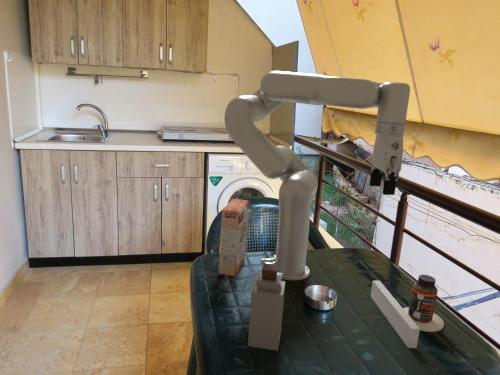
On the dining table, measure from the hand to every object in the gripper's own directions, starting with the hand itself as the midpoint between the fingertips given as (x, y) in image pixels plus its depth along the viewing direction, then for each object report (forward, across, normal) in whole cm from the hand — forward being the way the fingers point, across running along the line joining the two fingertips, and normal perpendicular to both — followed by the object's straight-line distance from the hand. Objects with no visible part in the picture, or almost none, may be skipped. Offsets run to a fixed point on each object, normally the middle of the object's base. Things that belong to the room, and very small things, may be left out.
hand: (381, 190), depth 116 cm
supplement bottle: (+30, -17, -8) cm, 35 cm away
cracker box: (+31, +13, +40) cm, 52 cm away
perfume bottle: (+31, -26, +34) cm, 53 cm away
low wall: (+30, -17, 0) cm, 35 cm away
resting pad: (+30, -17, -8) cm, 36 cm away
